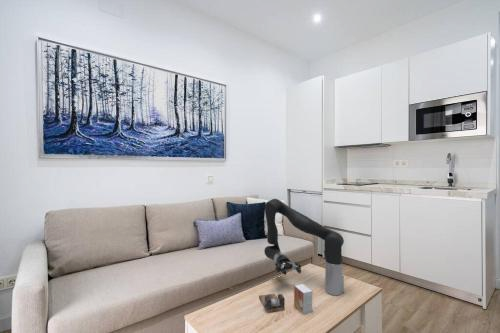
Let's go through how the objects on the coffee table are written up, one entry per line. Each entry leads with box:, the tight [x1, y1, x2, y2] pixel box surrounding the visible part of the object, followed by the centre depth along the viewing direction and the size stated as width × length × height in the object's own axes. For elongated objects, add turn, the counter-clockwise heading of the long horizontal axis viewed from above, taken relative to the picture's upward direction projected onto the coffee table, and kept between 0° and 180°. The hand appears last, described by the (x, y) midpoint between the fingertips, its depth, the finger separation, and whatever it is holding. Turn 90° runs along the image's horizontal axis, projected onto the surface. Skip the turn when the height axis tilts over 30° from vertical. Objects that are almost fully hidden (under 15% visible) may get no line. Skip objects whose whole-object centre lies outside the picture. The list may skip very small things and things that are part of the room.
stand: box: [258, 293, 286, 314], centre depth 126 cm, size 9×14×6 cm, turn 15°
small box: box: [293, 283, 314, 315], centre depth 122 cm, size 8×6×10 cm
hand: (293, 272), depth 133 cm, fingers open, 8 cm apart
